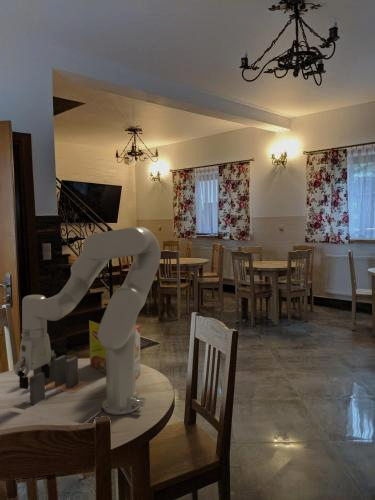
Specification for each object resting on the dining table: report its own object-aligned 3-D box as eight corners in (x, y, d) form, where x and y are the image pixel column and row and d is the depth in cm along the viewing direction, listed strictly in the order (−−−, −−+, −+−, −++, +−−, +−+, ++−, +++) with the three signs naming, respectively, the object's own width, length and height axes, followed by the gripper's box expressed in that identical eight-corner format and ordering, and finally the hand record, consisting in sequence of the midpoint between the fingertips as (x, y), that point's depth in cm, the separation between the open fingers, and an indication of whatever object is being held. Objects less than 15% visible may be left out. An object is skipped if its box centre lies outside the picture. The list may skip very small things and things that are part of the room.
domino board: (88, 385, 143) (88, 382, 143) (73, 395, 135) (73, 392, 135) (34, 375, 153) (34, 373, 153) (17, 384, 145) (17, 381, 145)
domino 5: (78, 383, 143) (77, 357, 142) (69, 389, 138) (68, 361, 137) (74, 382, 143) (74, 356, 142) (66, 388, 138) (65, 361, 138)
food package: (89, 367, 162) (88, 320, 160) (91, 366, 162) (90, 319, 161) (108, 377, 150) (106, 327, 149) (110, 376, 151) (109, 327, 150)
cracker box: (129, 392, 137) (128, 335, 135) (113, 391, 138) (112, 334, 137) (141, 377, 151) (140, 324, 149) (127, 375, 152) (126, 324, 150)
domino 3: (56, 379, 146) (56, 354, 146) (47, 384, 142) (46, 358, 141) (53, 379, 147) (52, 353, 146) (44, 384, 142) (43, 357, 142)
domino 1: (46, 377, 148) (45, 352, 147) (37, 382, 143) (36, 356, 143) (43, 377, 149) (42, 351, 148) (33, 382, 144) (32, 356, 143)
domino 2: (45, 401, 131) (44, 372, 130) (34, 407, 126) (33, 378, 125) (41, 400, 131) (40, 372, 131) (30, 407, 127) (29, 377, 126)
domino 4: (67, 381, 144) (66, 355, 144) (58, 386, 140) (57, 360, 139) (64, 380, 145) (63, 355, 144) (54, 386, 140) (54, 359, 140)
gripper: (23, 341, 118) (23, 395, 119) (61, 327, 134) (61, 375, 135) (5, 338, 120) (5, 390, 122) (44, 324, 136) (44, 371, 138)
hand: (35, 382), depth 128 cm, fingers open, 9 cm apart
